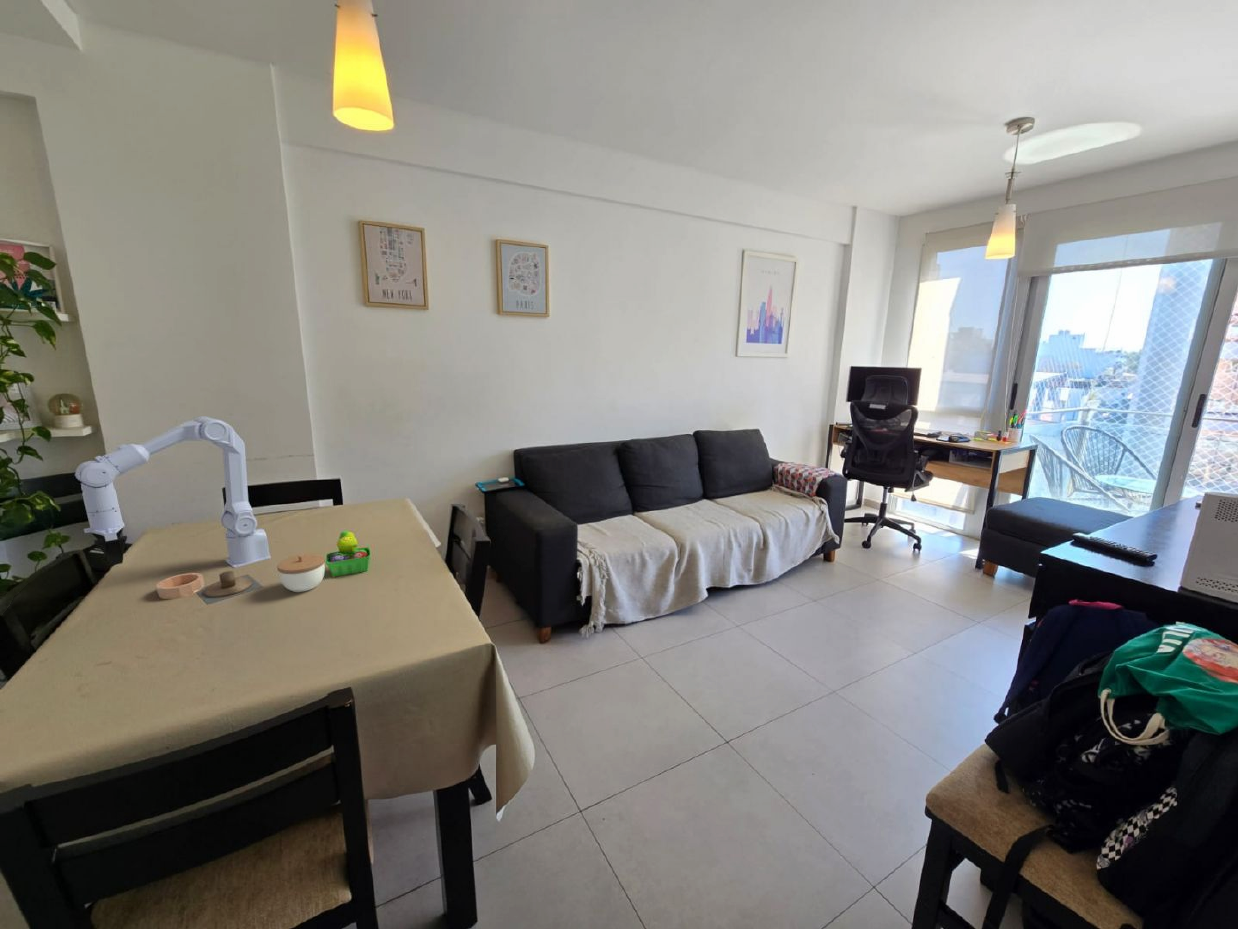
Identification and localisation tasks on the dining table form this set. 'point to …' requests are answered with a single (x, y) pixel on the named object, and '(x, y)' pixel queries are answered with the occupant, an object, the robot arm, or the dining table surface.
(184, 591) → the bowl
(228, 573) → the lid
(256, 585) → the mat
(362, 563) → the fruit basket
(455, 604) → the dining table surface
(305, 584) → the lidded jar
